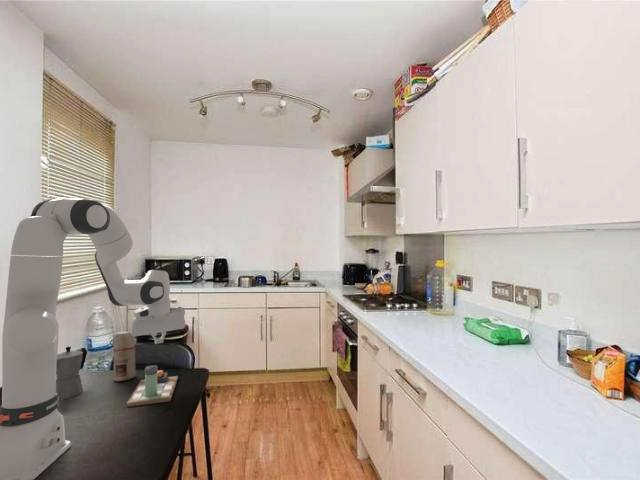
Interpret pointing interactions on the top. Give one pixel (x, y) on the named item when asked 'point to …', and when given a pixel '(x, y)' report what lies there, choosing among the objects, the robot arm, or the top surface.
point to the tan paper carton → (124, 356)
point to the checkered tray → (163, 391)
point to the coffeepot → (69, 372)
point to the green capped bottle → (151, 381)
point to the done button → (159, 373)
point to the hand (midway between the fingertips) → (159, 343)
